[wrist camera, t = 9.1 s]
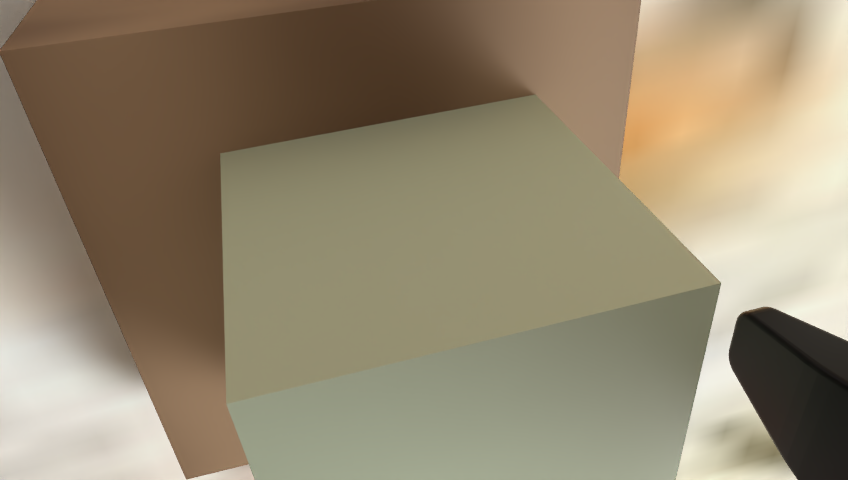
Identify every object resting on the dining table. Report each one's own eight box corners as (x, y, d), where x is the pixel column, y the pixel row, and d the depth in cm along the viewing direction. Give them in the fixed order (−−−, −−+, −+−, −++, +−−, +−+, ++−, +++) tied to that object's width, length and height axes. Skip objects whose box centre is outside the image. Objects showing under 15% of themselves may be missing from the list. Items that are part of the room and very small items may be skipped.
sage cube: (286, 381, 13) (320, 651, 9) (220, 153, 10) (226, 404, 6) (531, 322, 14) (659, 546, 10) (535, 94, 11) (720, 283, 7)
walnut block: (190, 374, 16) (186, 479, 14) (45, -11, 11) (-1, 50, 9) (542, 296, 18) (593, 379, 15) (562, -75, 13) (645, -37, 10)
